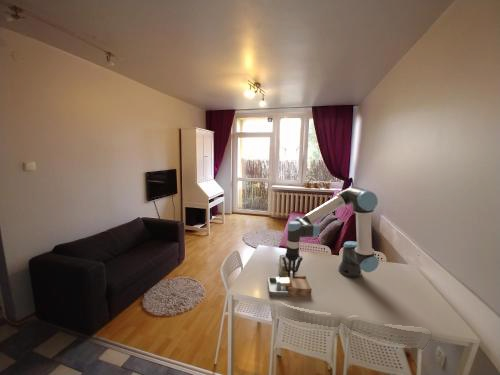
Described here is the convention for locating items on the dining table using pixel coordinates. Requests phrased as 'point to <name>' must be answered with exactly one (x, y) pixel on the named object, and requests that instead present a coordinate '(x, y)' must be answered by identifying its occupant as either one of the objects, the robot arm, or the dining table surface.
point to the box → (274, 290)
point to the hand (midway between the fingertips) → (290, 281)
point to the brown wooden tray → (298, 286)
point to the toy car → (283, 266)
